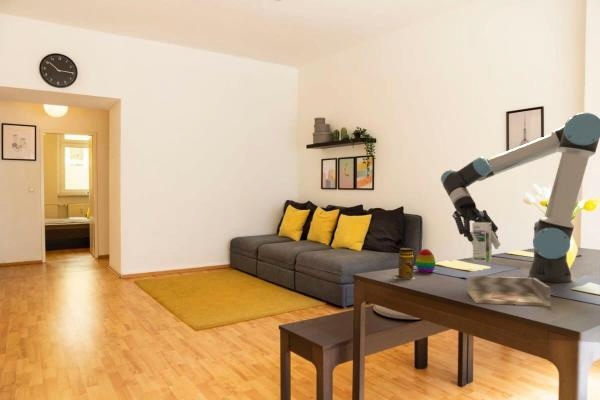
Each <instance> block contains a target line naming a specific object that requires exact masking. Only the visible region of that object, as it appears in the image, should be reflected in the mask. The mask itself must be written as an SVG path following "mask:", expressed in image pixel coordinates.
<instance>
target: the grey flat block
mask: <svg viewBox="0 0 600 400" xmlns="http://www.w3.org/2000/svg"><path fill="white" fill-rule="evenodd" d="M467 294H468V295H469V296H470V297H471V298H472V300H473V301H474V302H475V304H493V305H495V304H497V305H513V304H515V305H514V306H516V305H517V306H539V307H550V306H551V286H549V285H548V284H546V283H544V281H543V282H542V281H540V280H538V279H536V278H530V277H522V276H519V277H517V276H516V277H515V276H491V275H490V276H489V275H485V276H484V275H467Z"/></svg>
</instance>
